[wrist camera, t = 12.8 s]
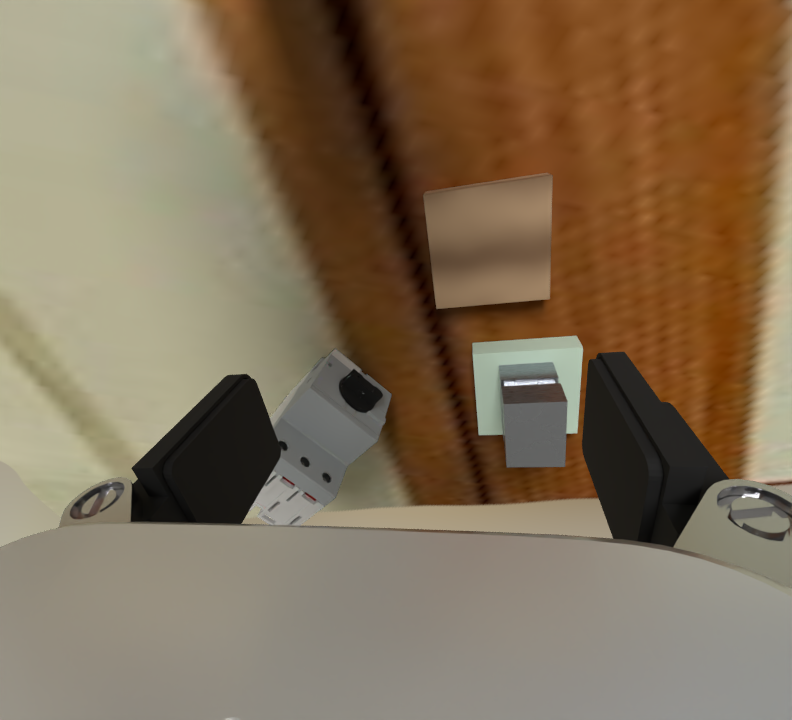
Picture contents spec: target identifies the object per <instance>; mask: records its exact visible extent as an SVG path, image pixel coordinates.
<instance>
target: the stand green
mask: <svg viewBox="0 0 792 720" xmlns="http://www.w3.org/2000/svg"><path fill="white" fill-rule="evenodd" d="M472 346H473V366H474V379H475V392H476V406H477V419H478V432H479V435H503V430H502V420H501V401H500V382H499V365H512V364H528V363H544V362H553V364H554V366H555V369H556V372H557V374H558V383H561V385H562V388H563V391H564V393H565V396H566V399H567V401H568V404H567V428H566V433H577V429H578V414H579V399H580V384H581V370H582V355H583V346H582V345H581V343H580V341H579V339H578V337H577V336H566V337H551V338H537V339H522V340H508V341H493V342H479V343H472Z"/></svg>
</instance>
